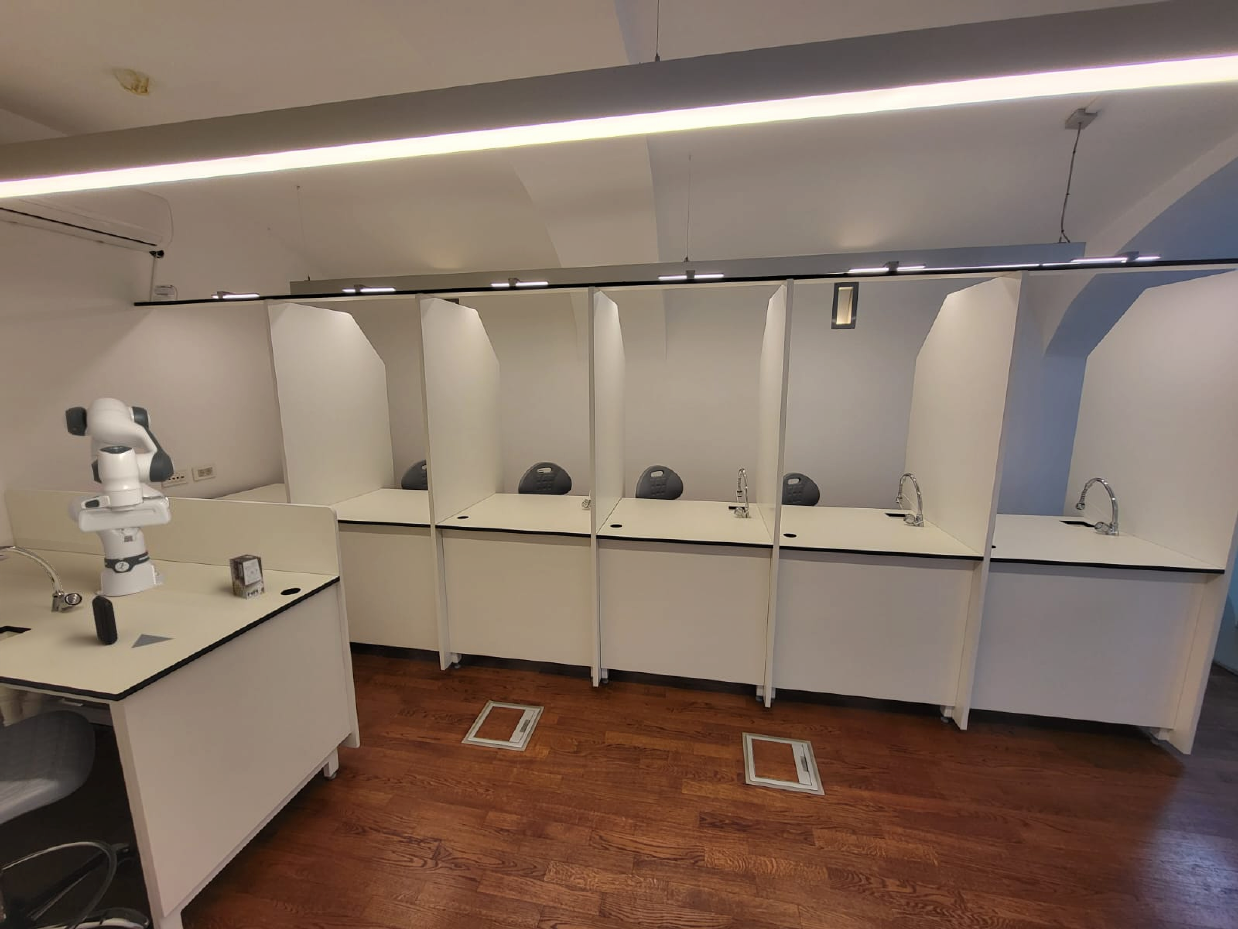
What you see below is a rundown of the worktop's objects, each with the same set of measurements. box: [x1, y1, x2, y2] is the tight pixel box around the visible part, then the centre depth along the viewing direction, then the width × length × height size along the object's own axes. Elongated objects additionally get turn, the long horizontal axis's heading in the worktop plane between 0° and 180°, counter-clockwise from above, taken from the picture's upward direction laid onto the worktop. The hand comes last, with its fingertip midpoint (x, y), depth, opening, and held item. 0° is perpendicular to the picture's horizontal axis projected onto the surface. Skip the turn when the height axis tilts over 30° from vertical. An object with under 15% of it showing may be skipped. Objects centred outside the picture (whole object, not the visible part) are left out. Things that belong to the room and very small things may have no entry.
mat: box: [131, 633, 175, 649], centre depth 159 cm, size 22×22×1 cm
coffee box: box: [229, 553, 265, 600], centre depth 179 cm, size 9×6×16 cm
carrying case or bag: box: [91, 595, 119, 646], centre depth 147 cm, size 11×3×15 cm, turn 60°
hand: (129, 541), depth 149 cm, fingers closed
